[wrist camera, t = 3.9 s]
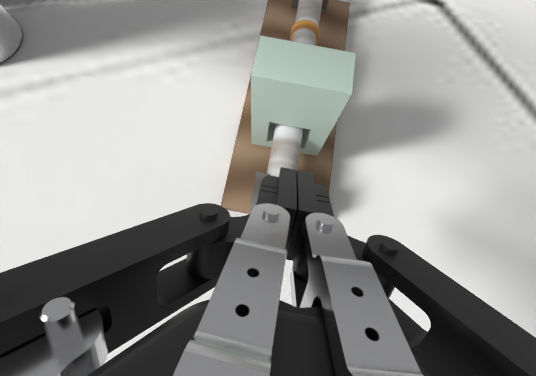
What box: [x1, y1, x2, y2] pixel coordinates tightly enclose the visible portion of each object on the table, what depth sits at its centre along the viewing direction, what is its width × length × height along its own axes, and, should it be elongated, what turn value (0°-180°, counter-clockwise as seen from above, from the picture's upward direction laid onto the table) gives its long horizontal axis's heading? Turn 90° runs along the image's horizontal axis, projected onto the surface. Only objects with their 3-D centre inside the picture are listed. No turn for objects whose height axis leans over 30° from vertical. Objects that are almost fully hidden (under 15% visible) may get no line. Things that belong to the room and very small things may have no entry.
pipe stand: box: [221, 0, 350, 214], centre depth 34 cm, size 34×12×7 cm, turn 170°
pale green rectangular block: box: [251, 36, 356, 156], centre depth 27 cm, size 4×8×12 cm, turn 80°
